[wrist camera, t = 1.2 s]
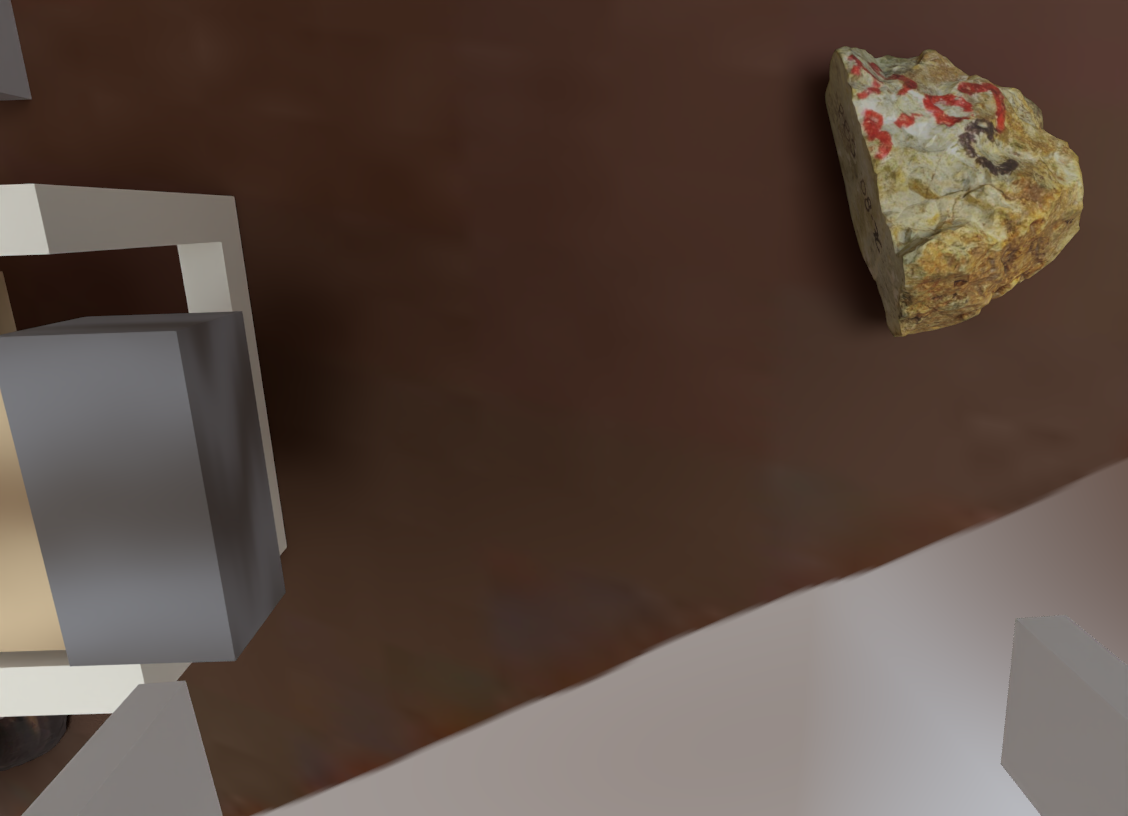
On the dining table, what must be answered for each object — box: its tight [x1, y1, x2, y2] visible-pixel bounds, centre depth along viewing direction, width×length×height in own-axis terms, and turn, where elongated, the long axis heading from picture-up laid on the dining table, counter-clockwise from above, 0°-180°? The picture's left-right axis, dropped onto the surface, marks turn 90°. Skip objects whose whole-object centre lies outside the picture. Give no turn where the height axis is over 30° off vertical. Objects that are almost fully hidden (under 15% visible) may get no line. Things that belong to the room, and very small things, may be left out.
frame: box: [0, 184, 287, 717], centre depth 29 cm, size 18×16×13 cm
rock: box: [825, 46, 1084, 337], centre depth 30 cm, size 12×9×10 cm
